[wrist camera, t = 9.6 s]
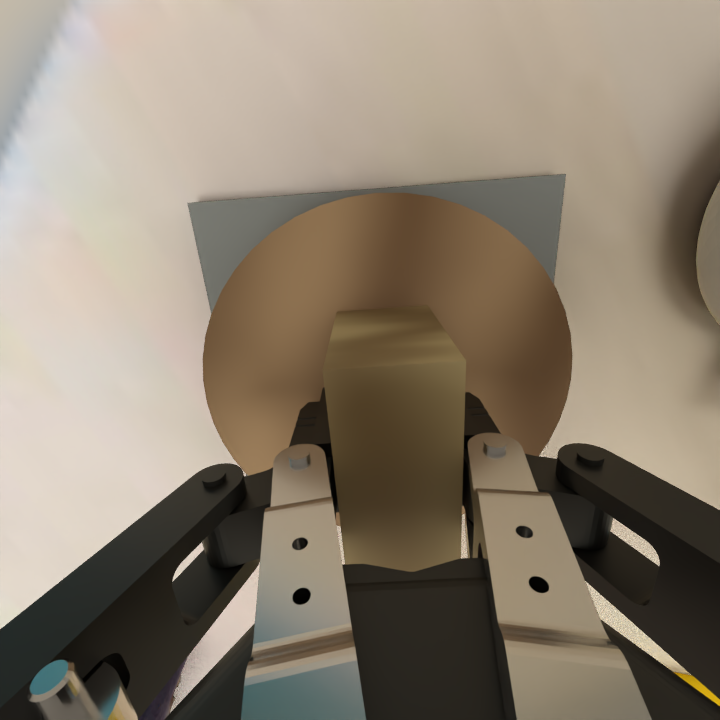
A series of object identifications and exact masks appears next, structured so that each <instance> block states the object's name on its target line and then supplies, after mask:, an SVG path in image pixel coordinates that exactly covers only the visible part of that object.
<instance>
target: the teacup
mask: <svg viewBox="0 0 720 720" xmlns="http://www.w3.org/2000/svg"><path fill="white" fill-rule="evenodd" d="M696 267H697V279H698V284H699V288H700V292H701V295H702V297H703V299H704V302H705V304H706V306H707V308H708V310H709V312H710V314H711V315H712V316H713V318H714V319H715V321H716V322H717V323H718V324H719V325H720V181H719V183H718V184H717V186H716V188H715V191H714V193H713V195H712V197H711V199H710V201H709V204H708V206H707V208H706V211H705V214H704V218H703V221H702V225H701V228H700V232H699V237H698V244H697V253H696Z"/></svg>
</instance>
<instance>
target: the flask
mask: <svg viewBox="0 0 720 720" xmlns="http://www.w3.org/2000/svg"><path fill="white" fill-rule="evenodd" d="M186 659H187V658H186ZM186 659H185V660H184V662H183V663H182V664H181V665H180V667H179V668H178V669H177V671H176V672H175V673H174V674H173V676H172V677H171V678H170V680H169V681H168V682H167V683H166V685H165V686H164V687H163V689H162V690H161V691H160V692H159V694H158V695H157V696H156V698H155V699H154V700H153V701H152V703H151V704H150V705H149V707H148V708H147V709H146V710H145V712H144V713H143V714H142V716H141V717H140V718H139V719H138V720H164V719H165V718H166V717H167V716H168V715H169V714H170V710H171V706H172V703H173V702H174V701H175V700H174V699H175V698H173V694H174V691H175V689H176V687H178V684H179V682H180V679H181V677H180V676H181V671H182V669H183V667H184V664H185V662H186Z"/></svg>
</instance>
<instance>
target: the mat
mask: <svg viewBox="0 0 720 720" xmlns="http://www.w3.org/2000/svg"><path fill="white" fill-rule="evenodd" d="M565 177H566V174H560V175H547V176H534V177H521V178H508V179H494V180H481V181H468V182H455V183H442V184H429V185H416V186H403V187H390V188H377V189H364V190H351V191H338V192H325V193H312V194H298V195H285V196H272V197H259V198H246V199H233V200H220V201H207V202H194V203H188V207H189V212H190V217H191V221H192V226H193V231H194V235H195V240H196V245H197V249H198V254H199V258H200V263H201V268H202V272H203V277H204V282H205V286H206V291H207V296H208V300H209V305H210V309H211V314H212V311H213V309H214V307H215V305H216V302H217V300H218V298H219V295H220V293H221V291H222V289H223V288H224V286H225V284H226V283H227V281H228V280H229V278H230V276H231V275H232V273H233V272H234V270H235V269H236V268H237V266H238V265H239V264H240V263H241V262H242V261H243V259H244V258H245V257H246V256H247V255H248V254H249V252H250V251H251V250H252V249H253V248H254V247H255V246H257V245H258V244H259V243H260V242H261V241H262V240H263V239H265V238H266V237H267V236H268V235H269V234H270V233H271V232H273V231H274V230H276V229H277V228H279V227H280V226H282V225H284V224H285V223H287V222H288V221H290V220H291V219H293V218H294V217H296V216H298V215H301V214H303V213H305V212H307V211H309V210H311V209H314V208H316V207H318V206H320V205H323V204H327V203H330V202H333V201H337V200H340V199H343V198H347V197H352V196H359V195H365V194H372V193H411V194H418V195H425V196H433V197H436V198H440V199H443V200H447V201H450V202H454V203H457V204H460V205H463V206H465V207H467V208H469V209H471V210H474V211H476V212H478V213H480V214H482V215H485V216H486V217H488V218H489V219H491V220H492V221H494V222H496V223H497V224H499V225H500V226H502V227H503V228H505V229H506V230H508V231H509V232H510V233H511V234H512V235H513V236H515V237H516V238H517V239H518V240H519V241H520V242H521V243H522V244H524V245H525V246H526V247H527V248H528V249H529V251H530V252H531V253H532V254H533V255H534V257H535V258H536V259H537V260H538V261H539V263H540V264H541V265H542V266H543V267H544V269H545V271H546V272H547V274H548V276H549V278H550V279H551V281H552V283H553V284H554V275H555V266H556V257H557V248H558V239H559V230H560V221H561V213H562V204H563V195H564V186H565ZM246 476H248V475H247V474H246Z"/></svg>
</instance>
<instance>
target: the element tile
mask: <svg viewBox="0 0 720 720" xmlns="http://www.w3.org/2000/svg"><path fill="white" fill-rule="evenodd" d="M673 673H675V672H673ZM675 674H676V675H678V676H679V677H680V678H682V679H683V680H684V681H686V682H687V683H689V684H690V685H691V686H693V687H694V688H695V689H697V690H698V691H700V692H701V693H702V694H704V695H705V696H706V697H708V698H709V699H711V700H712V701H713V702H715V703H716V704H717V705H719V706H720V699H719V698H717V697H716V696H715V695H714V694H713V693H712V692H711V691H710V690H708V689H707V688H706V687H705V686H704V685H703V684H702V683H700V682H699V681H698V680H697V679H696V678H695V677H694V676H692V675H686V674H681V673H675Z"/></svg>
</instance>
